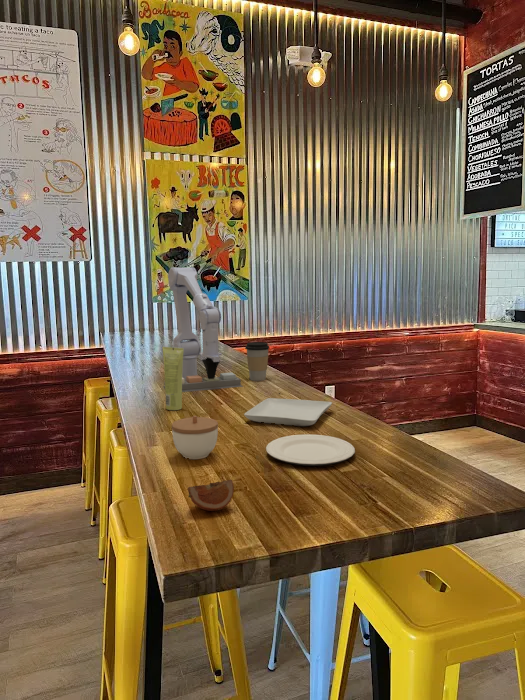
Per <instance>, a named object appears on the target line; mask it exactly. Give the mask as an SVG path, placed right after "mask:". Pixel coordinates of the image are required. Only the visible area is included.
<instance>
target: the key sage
mask: <svg viewBox="0 0 525 700" xmlns="http://www.w3.org/2000/svg"><path fill="white" fill-rule="evenodd" d="M217 377H218V376H215V378H214V379H208V376H207V377H202V378H203V380H204V381H206V382H209V381H219V379H218V378H217Z"/></svg>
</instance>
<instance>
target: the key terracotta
mask: <svg viewBox="0 0 525 700" xmlns="http://www.w3.org/2000/svg"><path fill="white" fill-rule="evenodd" d="M202 378H203V377H202V376H201V375H199V374H197V375H195V376H186V381H187V382H188V383H197V382H202Z"/></svg>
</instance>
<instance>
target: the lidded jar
mask: <svg viewBox="0 0 525 700" xmlns="http://www.w3.org/2000/svg"><path fill="white" fill-rule="evenodd" d="M218 428H219V423H218V421H217V420H216V419H213V418H211V417H205V416H202V417H201V416H200V417H199V416H197V415H192V417H185V418H181V419H177V420H174V421H173V422H172V423H171V430H172V439H173V444H174V447H175V449H176V450H177V451H178V453H180V455H182V457H183V458H184V457H185V458H184V459H187V458H189V459H188V460H201V459H205V458H207V457H208V456H209V454H211V452H213V450H214V449H215V447H216V445H217V442H218Z"/></svg>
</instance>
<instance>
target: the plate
mask: <svg viewBox="0 0 525 700" xmlns="http://www.w3.org/2000/svg"><path fill="white" fill-rule="evenodd" d="M265 451H266V453H267V454H268V455H269V456H270V457H272V458H273V459H275V460H278V461H280V462H285V463H286V464H287V463H288V464H291V465H297V466H303V467H305V466H306V467H320V466H321V467H322V466H327V465H329V466H330V465H333V464H339V463H341V462H345V461H347V460H348V459H351V458H352V457H353V456H354V454H355V453H356V450H355V447H354V445H352V443H350V442H348V441H346V440H344V439H342V438H339V437H335V436H330V435H323V434H322V435H321V434H311V433H310V434H309V433H308V434H294V435H293V434H292V435H286V436H281V437H278V438H276V439H273V440H272V441H270V442H269V443H268V444H267V445H266V447H265Z"/></svg>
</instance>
